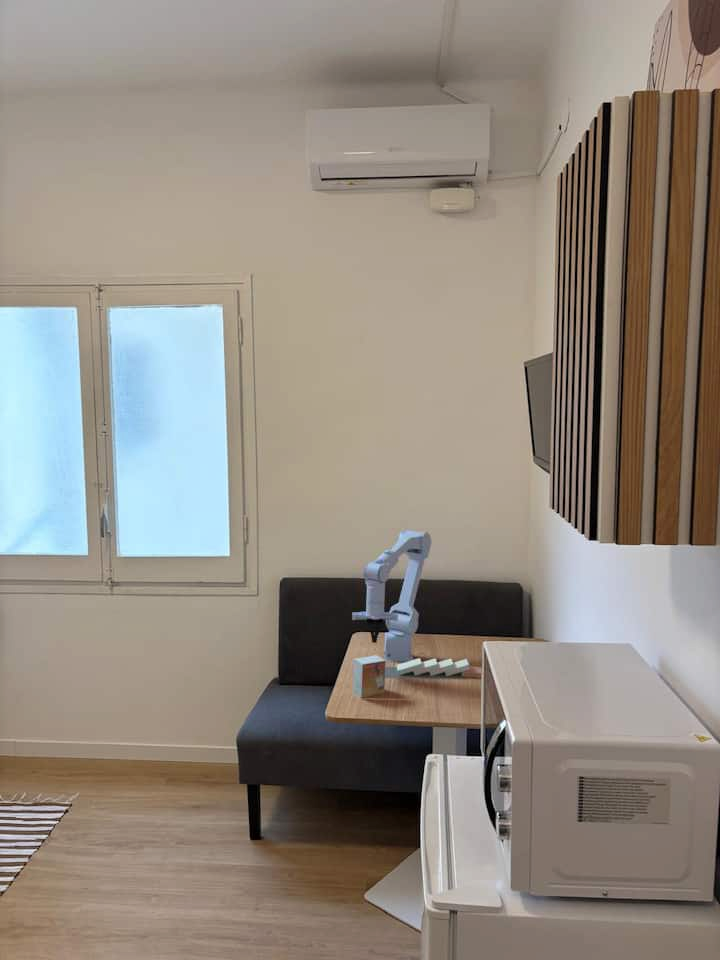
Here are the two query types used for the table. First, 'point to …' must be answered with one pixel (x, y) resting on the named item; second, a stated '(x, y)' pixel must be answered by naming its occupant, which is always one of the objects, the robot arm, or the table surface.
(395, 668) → the mat
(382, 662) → the small box
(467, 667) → the domino
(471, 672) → the terracotta domino
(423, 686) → the table surface
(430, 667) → the domino
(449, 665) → the domino
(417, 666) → the domino
